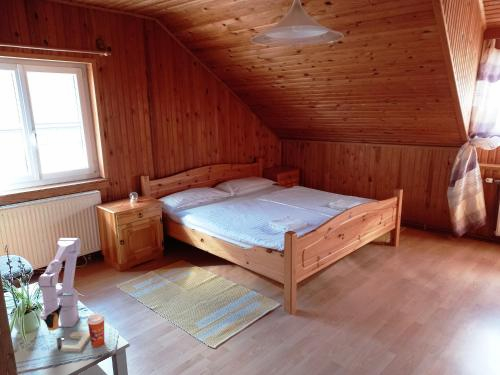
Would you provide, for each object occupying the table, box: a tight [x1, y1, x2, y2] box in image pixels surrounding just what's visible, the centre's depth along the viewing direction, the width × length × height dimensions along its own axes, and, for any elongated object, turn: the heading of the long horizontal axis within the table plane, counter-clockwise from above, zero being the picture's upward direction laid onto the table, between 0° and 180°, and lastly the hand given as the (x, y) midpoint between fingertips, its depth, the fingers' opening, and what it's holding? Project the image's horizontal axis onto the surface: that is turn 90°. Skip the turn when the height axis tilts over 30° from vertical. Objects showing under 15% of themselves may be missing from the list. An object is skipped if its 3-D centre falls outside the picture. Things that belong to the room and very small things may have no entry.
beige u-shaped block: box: [60, 331, 90, 353], centre depth 172 cm, size 12×9×2 cm
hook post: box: [56, 337, 65, 351], centre depth 167 cm, size 2×3×5 cm, turn 91°
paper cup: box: [86, 312, 106, 348], centre depth 170 cm, size 8×8×14 cm
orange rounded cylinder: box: [47, 313, 60, 331], centre depth 171 cm, size 4×4×6 cm
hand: (53, 324), depth 171 cm, fingers closed on orange rounded cylinder, 4 cm apart
